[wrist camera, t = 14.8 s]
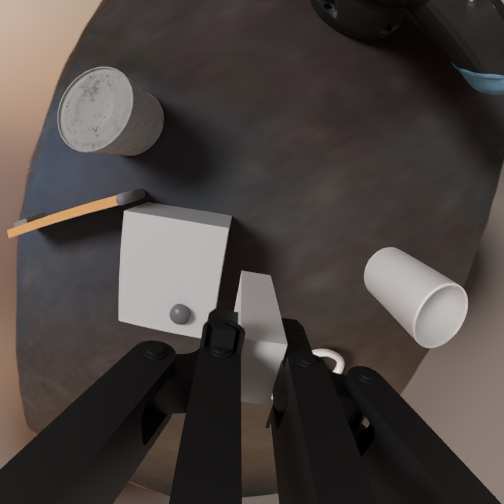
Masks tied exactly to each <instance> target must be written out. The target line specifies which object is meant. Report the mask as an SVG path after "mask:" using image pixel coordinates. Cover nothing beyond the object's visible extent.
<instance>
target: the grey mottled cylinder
mask: <svg viewBox="0 0 504 504" xmlns="http://www.w3.org/2000/svg"><path fill="white" fill-rule="evenodd" d="M57 122H58V129H59V132H60V134H61V137H62V138H63V140H64V141H65V143H66V144H67V145H68V146H70V147H71V148H72V149H74V150H77V151H79V152H100V153H111V154H120V155H125V156H132V155H137V154H140V153H143V152H144V151H146V150H148V149H149V148H150V147H151V146H152V145H153V144H154V143H155V142H156V141H157V139H158V138H159V136H160V134H161V132H162V128H163V124H164V114H163V110H162V107H161V105H160V103H159V102H158V101H157V99H156V98H155V97H153V96H152V95H150V94H148V93H147V92H146V91H145V90H143V89H142V88H141V87H139V86H138V85H137V84H135V83H134V82H133V81H131V80H130V79H129V78H127V77H126V76H125V75H124V74H123V73H122V72H120V71H119V70H117V69H115V68H111V67H98V68H94V69H90V70H88V71H86V72H84V73H83V74H81V75H80V76H79V77H77V78H76V79H75V80H74V81H73V82H72V83H71V84H70V85H69V87H68V88H67V90H66V91H65V93H64V95H63V97H62V99H61V102H60V105H59V109H58V118H57Z"/></svg>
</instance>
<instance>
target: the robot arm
mask: <svg viewBox="0 0 504 504" xmlns="http://www.w3.org/2000/svg"><path fill="white" fill-rule="evenodd" d="M310 1H311V4H312V6H313V8H314V10H315V11H316V12H317V14H318V15H319V16H320V17H321V18H322V19H323V20H324V21H325V22H326V23H327V24H328V25H330V26H331V27H333V28H334V29H336V30H337V31H339V32H341V33H343V34H345V35H347V36H350V37H353V38H356V39H361V40H368V41H374V40H381V39H384V38H386V37H388V36H390V35H391V34H392V33H393V32H395V31H396V30H397V29H398V28H399V26H400V25H401V23H402V21H403V17H404V14H405V11H406V9H407V10H408V11H409V12H410V13H411V14H412V15H413V16H414V18H415V19H416V20H417V21H418V22H419V23H420V24H421V25H422V26H423V27H424V28H425V30H426V31H427V32H428V33H429V34H430V35H431V36H432V38H433V39H434V40H435V41H436V42H437V44H438V45H439V46H440V47H441V49H442V50H443V51H444V52H445V54H446V55H447V56H448V57H449V59H450V60H451V63H452V65H453V66H454V67H455V68H456V69H457V70H459V71H460V73H461V74H462V75H463V77H464V78H465V79H466V81H467V82H468V83H469V85H470V86H471V87H472V88H474V89H476V90H478V91H480V92H482V93H485V94H492V95H499V94H504V0H310ZM272 395H273V406H272V409H271V412H270V415H269V417H268V420H267V423H266V428H269V426H270V423H271V427H272V437H273V447H274V456H275V466H276V476H277V485H278V495H279V504H501V503H500V502H499V501H498V500H497V499H496V497H495V496H494V495H493V494H492V493H491V492H490V491H489V490H488V489H487V488H486V487H485V486H484V484H482V482H481V481H480V480H479V479H478V478H477V477H476V476H475V475H474V474H473V473H472V472H471V471H470V469H469V468H468V467H467V466H466V465H465V464H464V463H463V462H462V461H461V460H460V459H459V458H458V457H457V456H456V454H455V453H454V452H453V451H452V450H451V449H450V448H449V447H448V446H447V445H446V444H445V443H444V442H443V441H442V439H441V438H440V437H439V436H438V435H437V434H436V433H435V432H434V431H433V430H432V429H431V428H430V427H429V426H428V425H427V424H426V422H425V421H424V420H423V419H422V418H421V417H420V416H419V415H418V414H417V413H416V412H415V411H414V410H413V409H412V408H411V407H410V406H409V404H407V402H405V400H404V399H403V398H402V397H401V396H400V395H399V394H398V393H397V392H396V391H395V390H394V389H393V388H392V387H391V386H390V384H389V383H388V382H387V381H386V380H385V379H384V378H383V377H382V376H381V375H380V374H379V373H377V372H376V371H374V370H372V369H371V368H368V367H363V366H356V367H352V368H351V369H350V370H349V371H348V373H347V375H342V374H338V373H335V372H332V371H329V370H328V369H327V366H326V364H325V362H324V361H323V359H321V358H320V357H319V356H317V355H315V354H313V352H312V350H311V347H310V344H309V341H308V339H307V336H306V334H305V330H304V328H303V326H302V325H301V324H300V323H299V322H298V321H297V320H293V319H286V318H281V316H280V312H279V308H278V304H277V300H276V296H275V292H274V288H273V284H272V280H271V276H270V275H265V274H259V273H253V272H247V271H242V272H241V277H240V282H239V288H238V293H237V298H236V304H235V309H234V311H228V310H222V309H216V308H215V309H214V310H212V311H211V312H210V313H209V316H208V320H207V322H205V324H204V325H203V329H202V336H201V344H200V348H199V349H198V350H197V351H195V352H193V353H189V354H176V353H175V350H174V349H173V348H172V347H171V346H170V345H168V344H166V343H164V342H160V341H144V342H141V343H139V344H137V345H136V346H135V347H134V348H132V349H131V350H130V351H129V352H128V353H127V354H126V355H125V356H124V357H122V358H121V359H120V360H119V361H118V362H117V363H116V364H115V365H114V366H113V367H111V368H110V369H109V370H108V371H107V372H106V373H105V374H104V375H103V376H101V377H100V378H99V379H98V380H97V381H96V382H95V383H94V384H93V385H92V386H90V387H89V388H88V389H87V390H86V391H85V392H84V393H83V394H82V395H81V396H79V397H78V398H77V399H76V400H75V401H74V402H73V403H72V404H71V405H70V406H69V407H67V408H66V409H65V410H64V411H63V412H62V413H61V414H60V415H59V416H58V417H57V418H55V419H54V420H53V421H52V422H51V423H50V424H49V425H48V426H47V427H46V428H45V429H43V430H42V431H41V432H40V433H39V434H38V435H37V436H36V437H35V438H34V439H33V440H32V441H30V442H29V443H28V444H27V445H26V446H25V447H24V448H23V449H22V450H21V451H20V452H19V453H18V454H16V455H15V456H14V457H13V458H12V459H11V460H10V461H9V462H8V463H7V464H6V465H5V466H4V467H3V468H1V469H0V504H113V503H114V501H115V500H116V498H117V497H118V495H119V494H120V493H121V491H122V490H123V488H124V487H125V485H126V484H127V482H128V481H129V480H130V478H131V477H132V475H133V474H134V472H135V471H136V469H137V468H138V466H139V465H140V463H141V462H142V460H143V459H144V457H145V456H146V454H147V453H148V451H149V450H150V448H151V447H152V446H153V444H154V443H155V441H156V440H157V438H158V437H159V435H160V433H161V432H162V430H163V429H164V427H165V426H166V424H167V423H168V421H169V420H170V418H171V416H172V413H186V416H185V421H184V426H183V431H182V436H181V441H180V447H179V452H178V457H177V462H176V468H175V473H174V479H173V484H172V490H171V496H170V501H169V504H242V480H241V402H247V403H256V404H266V405H269V403H270V400H271V397H272ZM365 417H366V418H367V419H368V421H369V422H370V424H369V426H368V427H367V428H366V427H365V426H364V425H363V424H362V422H363V421H364V419H365Z"/></svg>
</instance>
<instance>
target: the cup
mask: <svg viewBox="0 0 504 504" xmlns="http://www.w3.org/2000/svg"><path fill="white" fill-rule="evenodd" d="M364 282H365V285H366V287H367V289H368V291H369V292H370V293H371V294H372V295H373V296H374V297H375V298H376V299H377V300H378V301H379V302H380V303H381V304H382V305H383V306H384V307H385V308H386V309H387V310H388V311H389V313H390V314H391V315H392V316H393V317H394V318H395V319H396V320H397V321H398V322H399V323H400V324H401V325H402V326H403V328H404V329H405V330H406V331H407V332H408V333H409V334H410V335H411V336H412V337H413V338H414V339H415V341H416V342H417V343H418V344H420V345H421V346H423V347H425V348H435V347H438V346H441V345H443V344H445V343H446V342H448V341H449V340H450V339H451V338H452V337H453V336H454V335H455V334H456V333H457V332H458V330H459V329H460V328H461V326H462V324H463V322H464V320H465V317H466V314H467V309H468V298H467V295H466V292H465V290H464V289H463V288H462V287H461V286H460V285H458V284H457V283H455V282H453V281H452V280H450V279H449V278H447V277H445V276H444V275H442V274H440V273H439V272H437V271H435V270H434V269H432V268H430V267H429V266H427V265H425V264H424V263H422V262H420V261H418V260H417V259H415V258H413V257H412V256H410V255H408V254H406V253H405V252H403V251H401V250H399V249H397V248H393V247H388V248H384V249H381V250H379V251H378V252H376V253H375V254H374V255H373V256H372V257H371V258H370V260H369V261H368V263H367V265H366V268H365V271H364Z"/></svg>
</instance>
